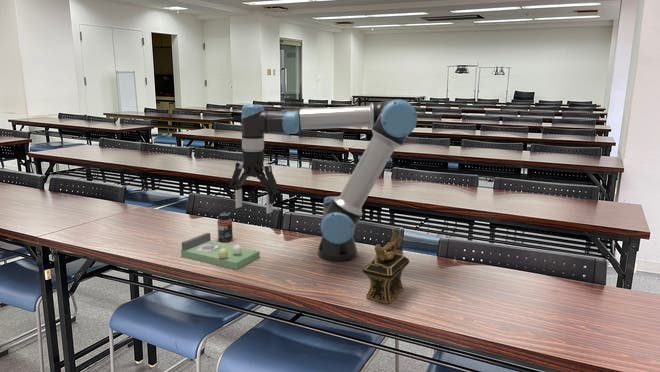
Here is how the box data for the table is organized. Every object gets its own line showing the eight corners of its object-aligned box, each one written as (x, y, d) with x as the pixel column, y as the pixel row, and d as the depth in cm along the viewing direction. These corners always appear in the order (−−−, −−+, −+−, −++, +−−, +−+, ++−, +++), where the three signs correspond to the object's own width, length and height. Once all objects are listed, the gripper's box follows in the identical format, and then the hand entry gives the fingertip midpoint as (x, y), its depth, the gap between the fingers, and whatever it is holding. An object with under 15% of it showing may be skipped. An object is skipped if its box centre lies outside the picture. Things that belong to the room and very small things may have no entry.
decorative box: (389, 308, 139) (393, 245, 135) (360, 300, 143) (362, 239, 139) (412, 284, 156) (416, 228, 152) (385, 278, 161) (388, 223, 156)
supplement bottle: (226, 237, 199) (225, 211, 197) (235, 240, 196) (235, 214, 193) (215, 240, 195) (214, 214, 193) (224, 243, 191) (223, 216, 189)
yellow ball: (230, 257, 169) (230, 247, 169) (223, 260, 166) (223, 250, 165) (222, 255, 171) (222, 246, 170) (216, 258, 168) (215, 249, 167)
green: (259, 257, 177) (259, 243, 176) (236, 269, 165) (235, 254, 163) (206, 245, 188) (206, 232, 187) (181, 256, 176) (180, 242, 175)
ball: (244, 253, 173) (244, 244, 172) (238, 256, 170) (237, 247, 169) (236, 252, 175) (236, 242, 174) (230, 254, 172) (230, 245, 171)
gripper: (289, 151, 159) (289, 212, 163) (231, 146, 170) (233, 202, 174) (276, 154, 152) (277, 217, 157) (217, 148, 163) (219, 207, 168)
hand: (254, 209), depth 165 cm, fingers open, 13 cm apart
